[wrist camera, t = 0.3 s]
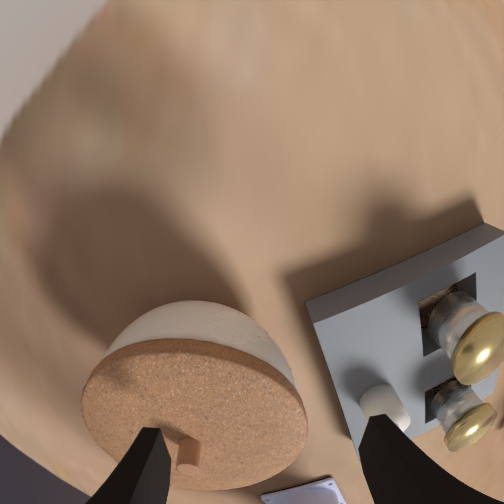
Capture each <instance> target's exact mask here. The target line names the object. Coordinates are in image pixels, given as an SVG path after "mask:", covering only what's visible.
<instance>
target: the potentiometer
mask: <svg viewBox="0 0 504 504" xmlns="http://www.w3.org/2000/svg"><path fill="white" fill-rule="evenodd" d="M359 404H360V407H361V409H362V412H363V414H364V417H365V419H366V421H367V423H368V420H369V417H370V416H375V415H380V414H386V415H387V416H388V417H389V418H390V419H391V420H392V421H393V422H394V423H395V424H396V425H397V426H398V427H399V428H400V429H401V430H402V431H403V432H404V431H405V430H406V429H407V428H408V426H409V424H410V421H411V419H410V417H409V415H408V413H407V411H406V409H405V408H404V406H403V404H402V402H401V400H400V399H399V397H398V395H397V393H396V391H395V390H394V388H393V386H391V385H389V384H380V385H377V386H374V387H372V388H370V389H369V390H368V391H366V392H365V393H364V394H363V396H362V397H361V399H360V403H359Z"/></svg>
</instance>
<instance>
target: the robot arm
mask: <svg viewBox="0 0 504 504" xmlns="http://www.w3.org/2000/svg"><path fill="white" fill-rule="evenodd" d="M358 451H359V456H360V461H361V465H362V469H363V473H364V476H365V479H366V481H367V484H368V487H369V490H370V492H371V495H372V498H373V500H374V503H375V504H504V502H501V501H499V500H496V499H493V498H491V497H489V496H487V495H485V494H483V493H481V492H479V491H477V490H475V489H473V488H471V487H469V486H468V485H466V484H464V483H463V482H461V481H459V480H458V479H456V478H455V477H454V476H452V475H451V474H449V473H448V472H447V471H445V470H444V469H443V468H441V467H440V466H439V465H438V464H437V463H435V462H434V461H433V460H432V459H431V458H430V457H428V456H427V455H426V454H425V453H424V452H423V451H422V450H421V449H420V448H419V447H418V446H417V445H415V444H414V443H413V442H412V441H411V440H410V439H409V438H408V437H407V436H406V435H405V434H404V432H403V431H402V430H401V429H400V428H399V427H398V426H397V425H396V424H395V423H394V422H393V421H392V420H391V419H390V418H389V417H388V416H387V415H386V414H380V415H375V416H370V417H369V420H368V423H367V426H366V429H365V432H364V434H363V437H362V440H361V443H360V445H359V448H358ZM170 475H171V457H170V454H169V452H168V449H167V446H166V443H165V440H164V437H163V434H162V431H161V428H151V427H143V428H142V429H141V430H140V432H139V433H138V435H137V437H136V438H135V440H134V442H133V443H132V445H131V446H130V448H129V449H128V451H127V452H126V454H125V455H124V457H123V458H122V460H121V461H120V462H119V464H118V465H117V467H116V468H115V469H114V471H113V472H112V473H111V475H110V476H109V477H108V478H107V480H106V481H105V482H104V483H103V484H102V486H101V487H100V488H99V489H98V490H97V492H96V493H95V494H94V495H93V496H92V497H91V498H90V499H89V500H88V501H87V502H86V503H85V504H166V501H167V496H168V491H169V486H170ZM261 499H262V500H263V501H264V502H265V503H266V504H346V502H345V500H344V498H343V496H342V494H341V492H340V490H339V488H338V486H337V484H336V482H335V480H334V478H327V479H323V480H320V481H317V482H313V483H310V484H306V485H302V486H299V487H295V488H291V489H287V490H282V491H278V492H274V493H269V494H264V495H262V496H261Z"/></svg>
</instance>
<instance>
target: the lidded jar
mask: <svg viewBox="0 0 504 504" xmlns="http://www.w3.org/2000/svg"><path fill="white" fill-rule="evenodd" d="M81 411H82V414H83V418H84V421H85V424H86V426H87V428H88V430H89V432H90V434H91V435H92V437H93V438H94V440H95V441H96V442H97V444H98V445H99V446H100V447H101V448H102V449H103V450H104V451H105V452H106V453H107V454H108V455H109V456H111V457H112V458H113V459H114V460H115V461H117V462H118V463H119V462H120V461H121V460H122V458H123V457H124V455H125V454H126V452H127V451H128V449H129V448H130V446H131V445H132V443H133V442H134V440H135V438H136V437H137V435H138V433H139V432H140V430H141V429H142V428H143V427H151V428H161V431H162V434H163V437H164V440H165V443H166V446H167V449H168V452H169V454H170V457H171V475H170V486H174V487H179V488H185V489H193V490H227V489H234V488H240V487H245V486H249V485H253V484H255V483H258V482H261V481H264V480H266V479H268V478H270V477H272V476H274V475H276V474H278V473H279V472H281V471H282V470H284V469H285V468H286V467H287V466H289V465H290V464H291V463H292V462H293V461H294V460H295V459H296V457H297V456H298V455H299V453H300V452H301V451H302V448H303V446H304V444H305V442H306V439H307V434H308V420H307V415H306V411H305V408H304V405H303V402H302V399H301V397H300V395H299V392H298V389H297V386H296V382H295V379H294V376H293V374H292V371H291V368H290V366H289V364H288V362H287V359H286V358H285V356H284V354H283V353H282V351H281V349H280V348H279V346H278V345H277V343H276V342H275V340H274V339H273V338H272V337H271V336H270V334H269V333H268V332H267V331H266V330H265V329H264V328H263V327H261V326H260V325H259V324H258V323H257V322H255V321H254V320H253V319H252V318H250V317H248V316H247V315H245V314H243V313H242V312H240V311H238V310H235V309H233V308H231V307H228V306H225V305H222V304H218V303H214V302H207V301H200V300H186V301H179V302H172V303H169V304H166V305H162V306H159V307H157V308H155V309H152V310H150V311H148V312H146V313H144V314H143V315H141V316H140V317H138V318H137V319H136V320H134V321H133V322H132V323H131V324H129V325H128V326H127V327H126V328H125V329H124V330H123V331H122V332H121V333H120V334H119V336H118V337H117V338H116V339H115V340H114V341H113V343H112V344H111V345H110V346H109V348H108V350H107V351H106V353H105V354H104V356H103V358H102V360H101V362H100V363H99V364H98V365H97V366H96V367H95V368H94V370H93V371H92V373H91V375H90V377H89V378H88V380H87V382H86V384H85V386H84V388H83V392H82V397H81Z"/></svg>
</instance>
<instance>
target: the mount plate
mask: <svg viewBox="0 0 504 504" xmlns="http://www.w3.org/2000/svg"><path fill="white" fill-rule="evenodd" d="M455 283H457V291H463V292H465V293H467V294H468V295H469V296H471V297H472V298H473V299H474V300H476V301H477V302H478V303H479V304H480V305H482V306H483V307H484V308H485V309H487V310H488V311H489V312H493V311H497V312H501V313H502V314H503V315H504V231H502V230H500V229H498V228H496V227H494V226H491V225H489V224H487V223H483V224H481V225H479V226H477V227H475V228H473V229H471V230H469V231H467V232H465V233H463V234H461V235H459V236H456V237H454V238H452V239H450V240H448V241H446V242H444V243H442V244H440V245H438V246H435V247H433V248H431V249H429V250H427V251H425V252H422V253H420V254H418V255H416V256H414V257H411V258H409V259H407V260H405V261H402V262H400V263H398V264H396V265H393V266H391V267H389V268H387V269H384V270H382V271H380V272H377V273H375V274H373V275H370V276H368V277H365V278H363V279H361V280H358V281H356V282H353V283H351V284H349V285H346V286H344V287H341V288H339V289H336V290H334V291H331V292H329V293H326V294H324V295H321V296H319V297H316V298H313V299H311V300H308V301H306V302H305V304H306V307H307V310H308V313H309V316H310V318H311V321H312V324H313V327H314V330H315V332H316V335H317V338H318V341H319V344H320V347H321V349H322V352H323V355H324V358H325V361H326V364H327V367H328V370H329V372H330V375H331V378H332V381H333V384H334V387H335V390H336V393H337V396H338V399H339V402H340V405H341V408H342V411H343V414H344V417H345V420H346V423H347V426H348V429H349V432H350V435H351V439H352V442H353V445H354V447H355V450H356V453H357V456H358V459H359V461H360V456H359V451H358V448H359V445H360V443H361V440H362V437H363V434H364V432H365V429H366V426H367V421H366V419H365V417H364V414H363V412H362V409H361V407H360V404H359V403H360V399H361V397H362V396H363V394H364V393H365V392H366V391H368V390H369V389H370V388H372V387H374V386H377V385H380V384H389V385H391V386H393V388H394V390H395V391H396V393H397V395H398V397H399V399H400V400H401V402H402V404H403V406H404V408H405V409H406V411H407V413H408V415H409V417H410V419H411V421H410V424H409V426H408V428H407V429H406V430H405V431H404V434H405V435H406V436H407V437H408V438H409V439H410V440H411V439H413V438H415V437H417V436H419V435H421V434H423V433H425V432H427V431H429V430H431V429H433V428H435V427H437V426H439V425H440V423H439V421H438V420H437V418H436V416H435V415H434V413H433V412H432V410H431V407H430V406H431V402H432V400H433V398H434V396H435V395H436V394H437V393H436V394H435V395H433V396H431V397H429V398H427V399H425V392H426V391H428V390H429V389H431V388H433V387H435V386H437V385H439V384H441V383H443V382H444V381H446V380H448V379H450V378H452V377H453V376H454V374H453V373H452V371H451V368H450V360H451V359H450V358H449V357H448V356H447V355H446V353H445V352H444V351H443V350H442V349H441V347H440V346H439V345H438V344H437V343H436V342H435V340H434V339H433V338H432V337H431V336H430V334H429V332H428V328H426V329H424V330H422V331H421V323H420V314H419V306H418V302H419V301H421V300H424V299H426V298H428V297H430V296H432V295H434V294H436V293H438V292H439V291H441V290H443V289H445V288H447V287H449V286H451V285H453V284H455ZM498 370H499V366H498V368H497V369H496V370H495V371H494V372H493V373H492V374H490V375H489V376H488V377H487V378H485V379H484V380H482V381H480V382H478V383H476V384H472V385H469V386H470V387H471V388H472V389H473V391H474V392H475V393H476V394H477V396H478V397H479V398H480V400H482V399H484V398H486V397H487V396H489V395H490V394H492V393H493V392H494V391H495V386H496V381H497V376H498Z"/></svg>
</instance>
